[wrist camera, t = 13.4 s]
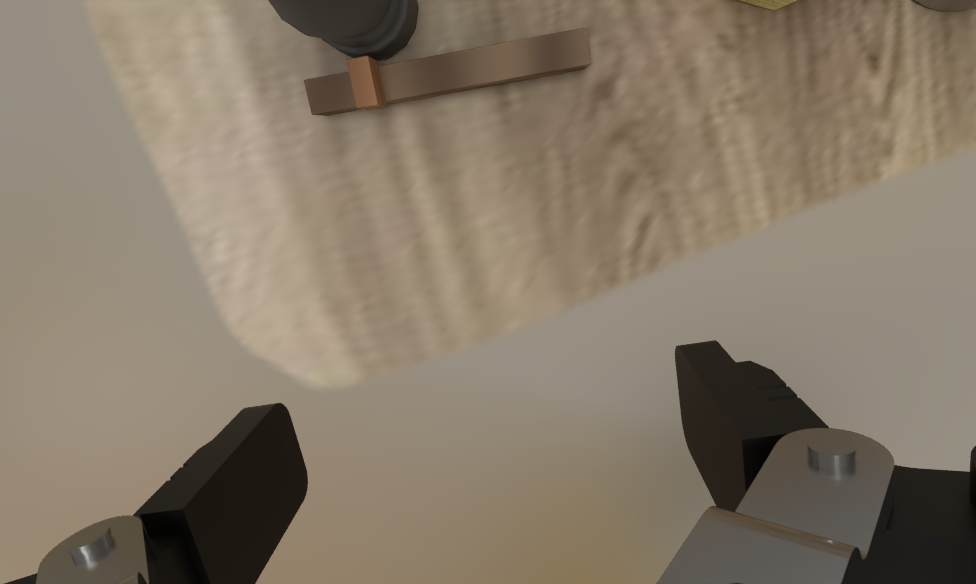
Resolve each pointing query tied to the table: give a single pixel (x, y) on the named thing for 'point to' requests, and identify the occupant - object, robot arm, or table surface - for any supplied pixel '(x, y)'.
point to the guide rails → (446, 72)
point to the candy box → (770, 3)
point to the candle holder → (354, 23)
